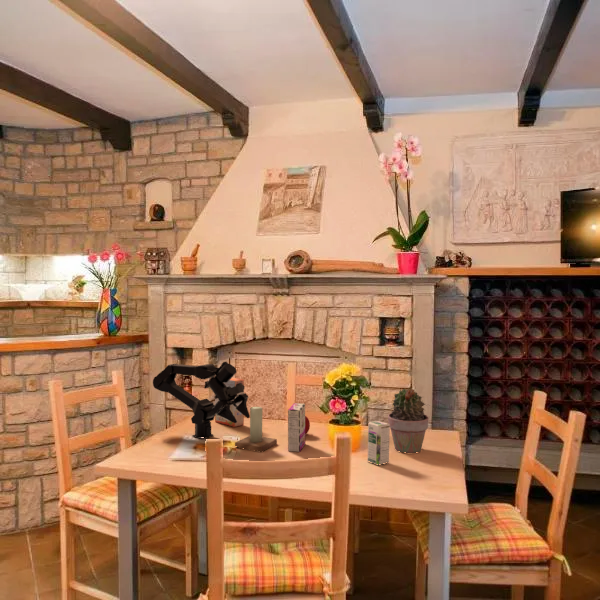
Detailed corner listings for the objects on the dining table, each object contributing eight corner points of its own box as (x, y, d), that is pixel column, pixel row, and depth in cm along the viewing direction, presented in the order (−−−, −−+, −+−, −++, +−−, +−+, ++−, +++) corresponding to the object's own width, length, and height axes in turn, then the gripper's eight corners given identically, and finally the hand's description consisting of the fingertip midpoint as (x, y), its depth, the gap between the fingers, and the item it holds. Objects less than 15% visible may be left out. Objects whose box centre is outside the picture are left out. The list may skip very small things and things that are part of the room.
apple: (313, 434, 236) (314, 410, 236) (302, 439, 229) (302, 415, 228) (295, 430, 241) (295, 408, 241) (284, 435, 234) (284, 412, 233)
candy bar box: (293, 443, 223) (293, 402, 222) (305, 444, 222) (305, 403, 221) (287, 451, 212) (287, 409, 211) (299, 452, 211) (300, 409, 210)
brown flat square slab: (235, 447, 216) (235, 442, 216) (251, 439, 227) (251, 435, 227) (261, 452, 211) (261, 447, 211) (276, 443, 222) (276, 439, 221)
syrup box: (366, 462, 200) (367, 422, 200) (378, 459, 204) (378, 420, 203) (378, 466, 196) (378, 425, 195) (389, 463, 199) (390, 423, 199)
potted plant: (413, 440, 228) (414, 380, 227) (440, 454, 210) (442, 389, 209) (374, 444, 222) (375, 382, 221) (399, 459, 204) (400, 392, 203)
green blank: (248, 442, 217) (249, 409, 216) (251, 438, 222) (251, 406, 221) (260, 442, 216) (261, 409, 216) (263, 439, 221) (263, 407, 220)
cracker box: (244, 425, 250) (244, 379, 249) (234, 427, 245) (234, 380, 245) (224, 419, 259) (224, 375, 259) (214, 421, 255) (214, 376, 254)
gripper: (218, 380, 215) (241, 412, 210) (244, 373, 232) (267, 403, 227) (201, 398, 219) (224, 430, 214) (229, 390, 236) (250, 419, 231)
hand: (242, 419), depth 222 cm, fingers open, 9 cm apart
